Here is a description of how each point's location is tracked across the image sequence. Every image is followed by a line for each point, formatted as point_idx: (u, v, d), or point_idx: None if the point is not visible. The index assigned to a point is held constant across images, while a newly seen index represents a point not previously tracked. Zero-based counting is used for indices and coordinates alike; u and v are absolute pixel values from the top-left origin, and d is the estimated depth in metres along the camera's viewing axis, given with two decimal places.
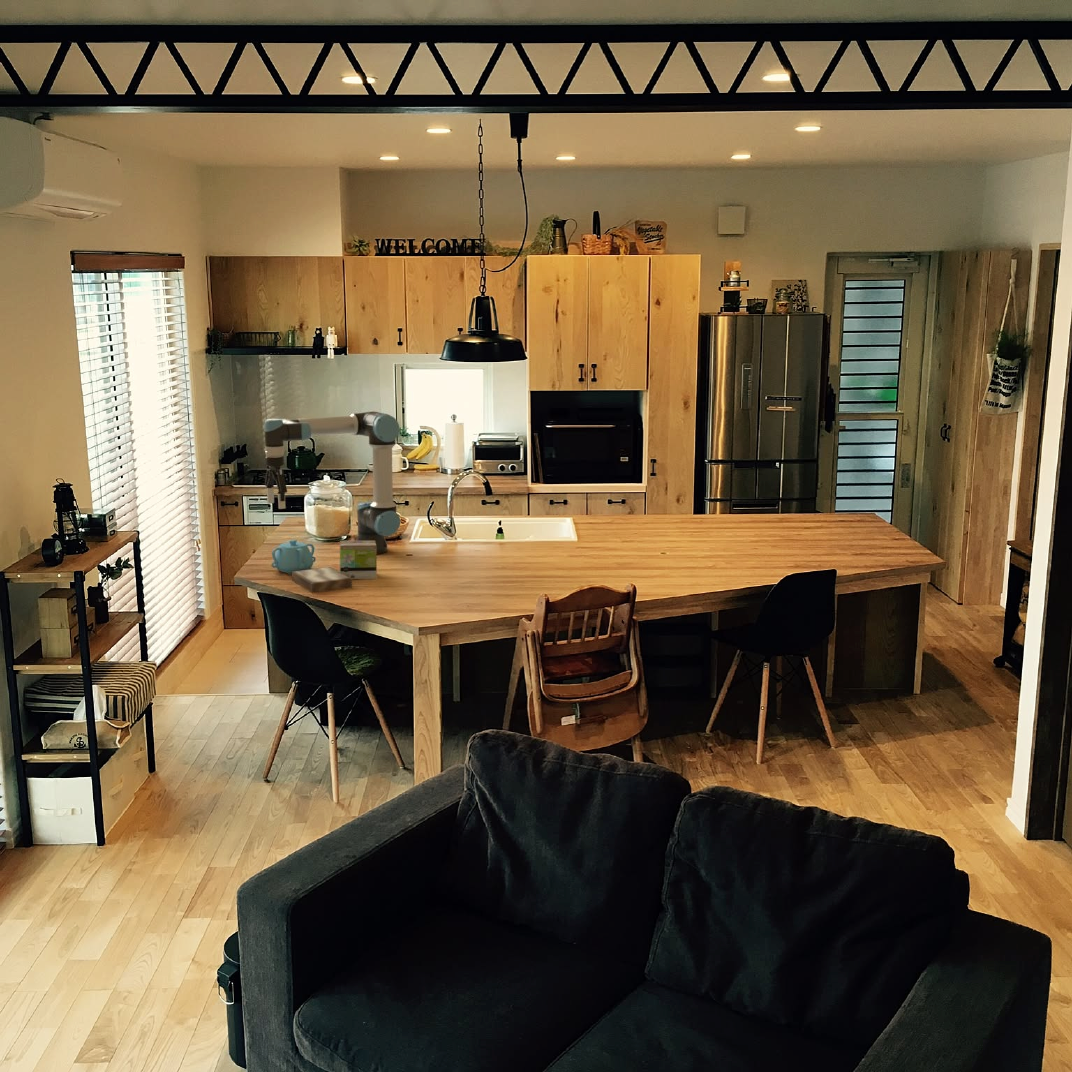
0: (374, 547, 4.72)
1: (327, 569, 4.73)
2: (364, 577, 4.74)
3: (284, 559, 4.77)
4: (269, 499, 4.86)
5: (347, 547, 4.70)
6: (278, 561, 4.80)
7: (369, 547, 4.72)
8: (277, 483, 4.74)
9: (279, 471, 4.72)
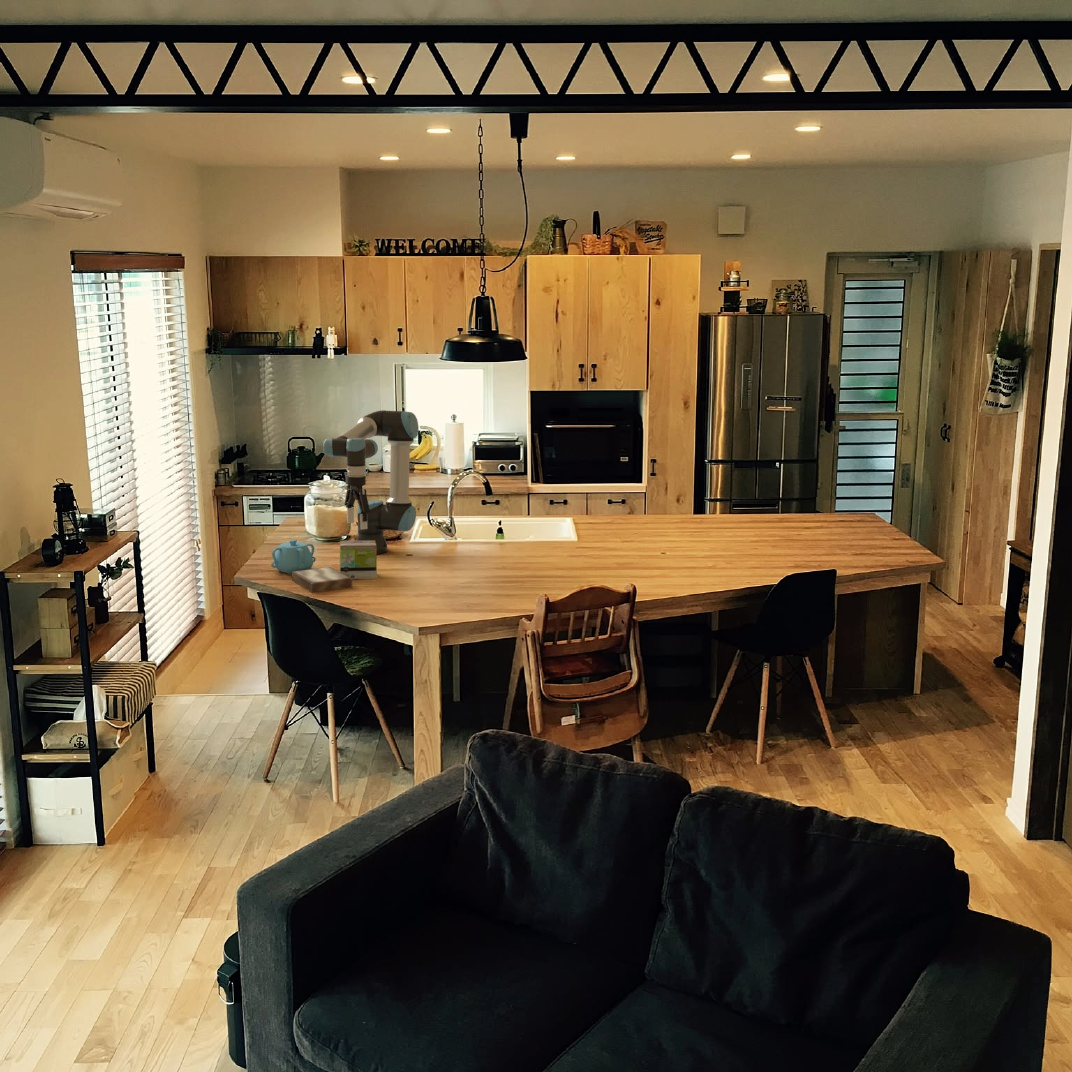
0: (374, 547, 4.72)
1: (327, 569, 4.73)
2: (364, 577, 4.74)
3: (284, 559, 4.77)
4: (349, 519, 4.78)
5: (347, 547, 4.70)
6: (278, 561, 4.80)
7: (369, 547, 4.72)
8: (359, 503, 4.66)
9: (362, 491, 4.65)
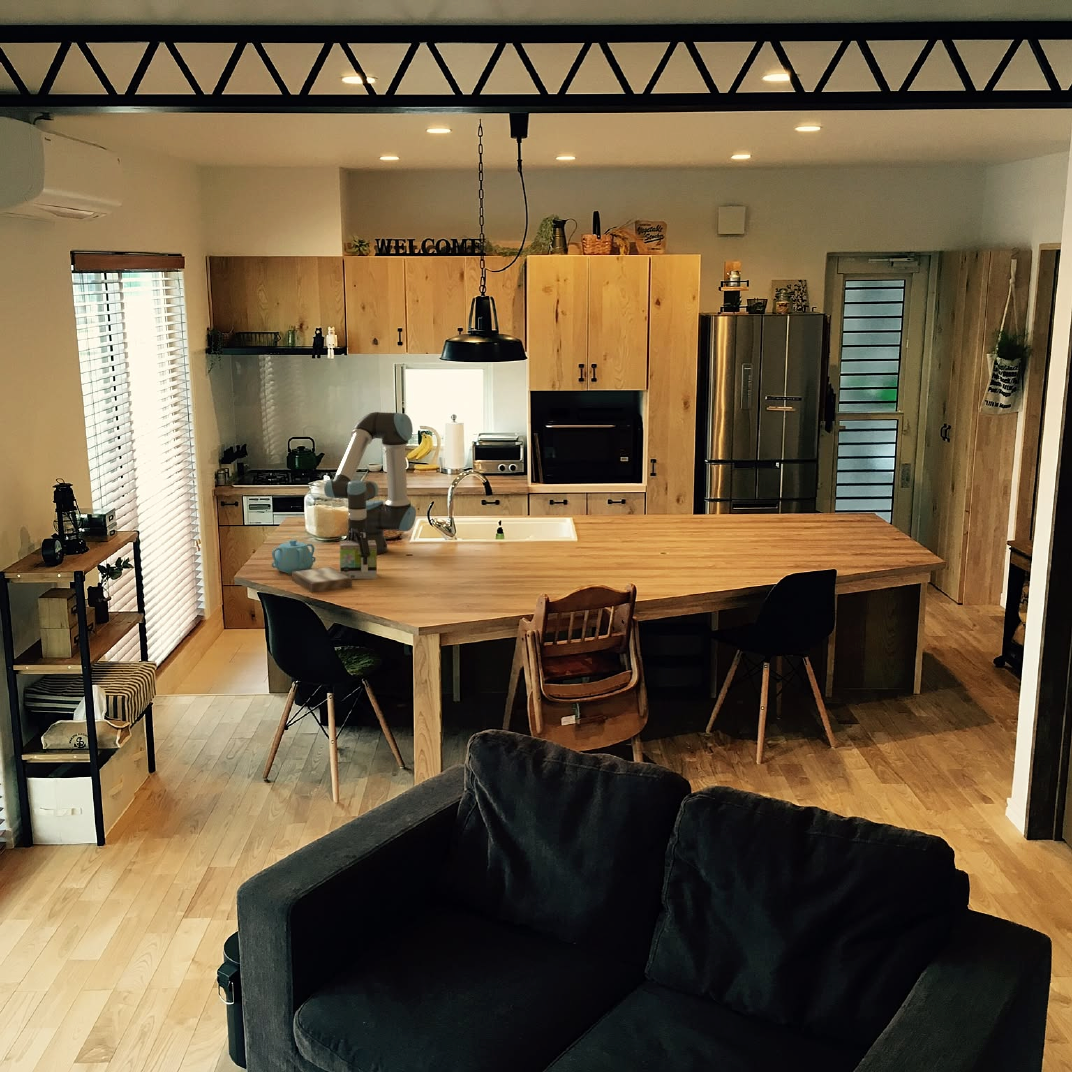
0: (374, 547, 4.72)
1: (327, 569, 4.73)
2: (364, 577, 4.74)
3: (284, 559, 4.77)
4: None
5: (347, 547, 4.70)
6: (278, 561, 4.80)
7: (369, 547, 4.72)
8: (360, 546, 4.71)
9: (363, 534, 4.69)
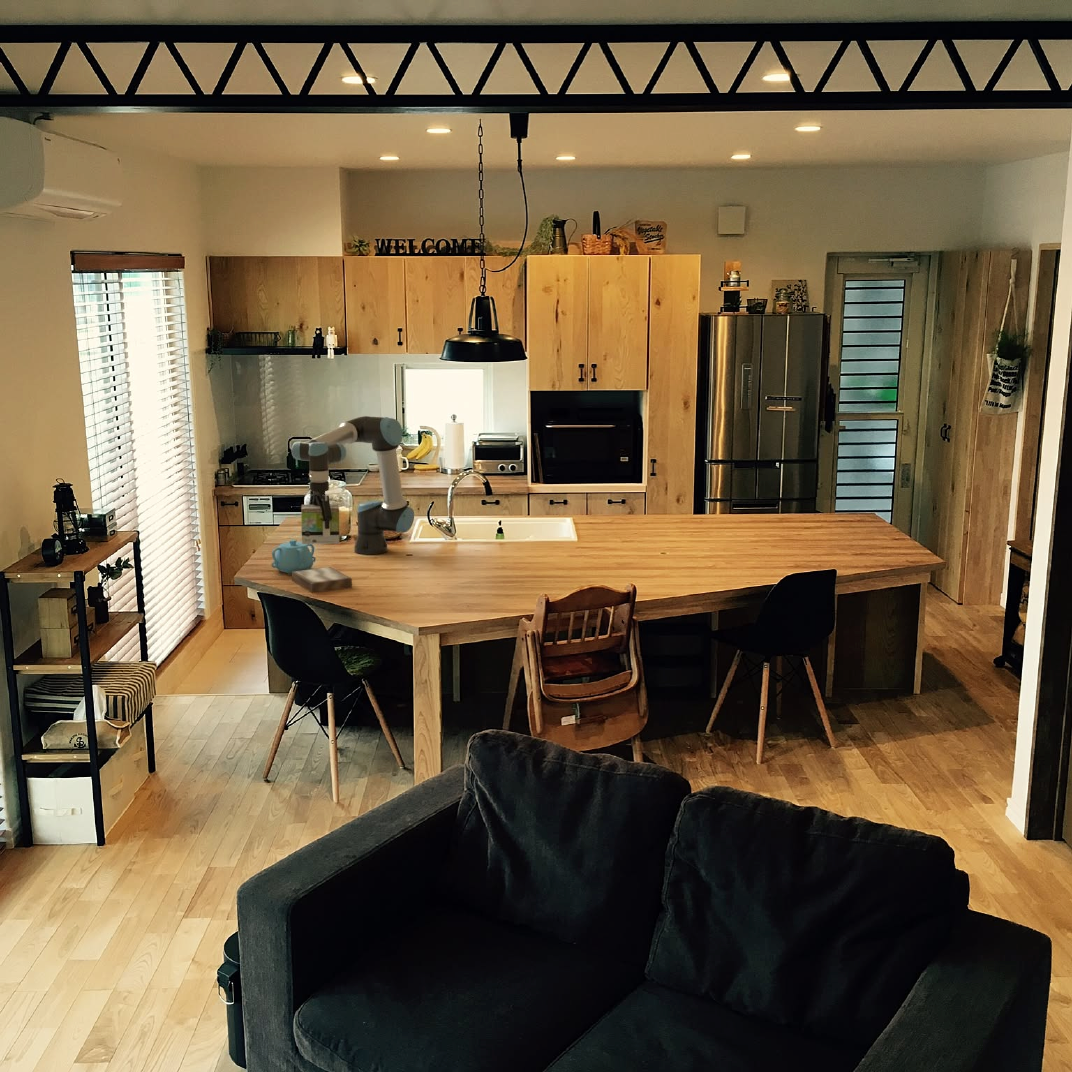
0: (336, 510, 4.56)
1: (327, 569, 4.73)
2: (326, 542, 4.58)
3: (284, 559, 4.77)
4: None
5: (308, 510, 4.53)
6: (278, 561, 4.80)
7: (331, 510, 4.55)
8: (322, 510, 4.54)
9: (324, 497, 4.52)
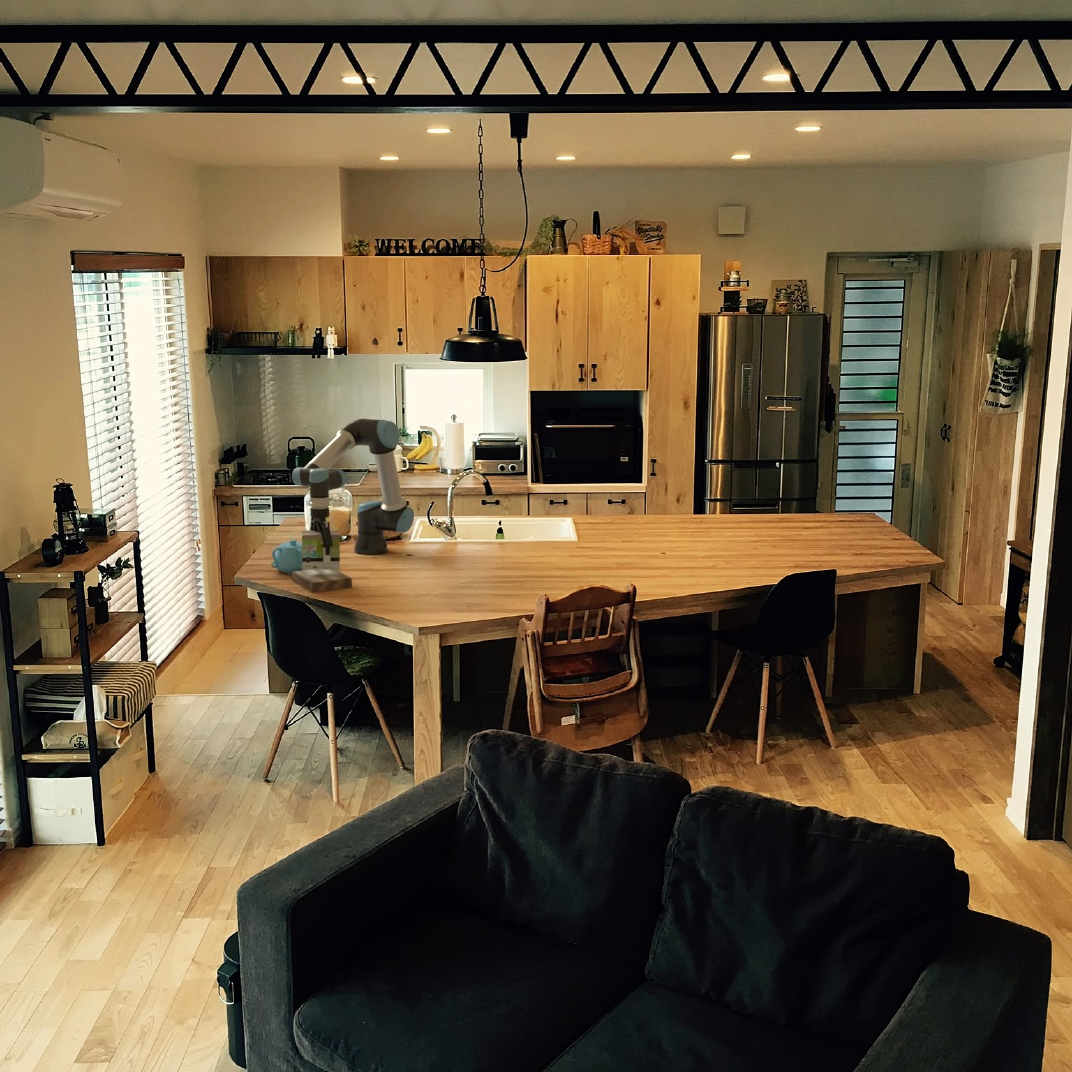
0: (337, 537, 4.58)
1: None
2: (327, 568, 4.60)
3: (284, 559, 4.77)
4: None
5: (309, 537, 4.56)
6: (278, 561, 4.80)
7: (332, 537, 4.58)
8: (322, 536, 4.56)
9: (325, 524, 4.54)
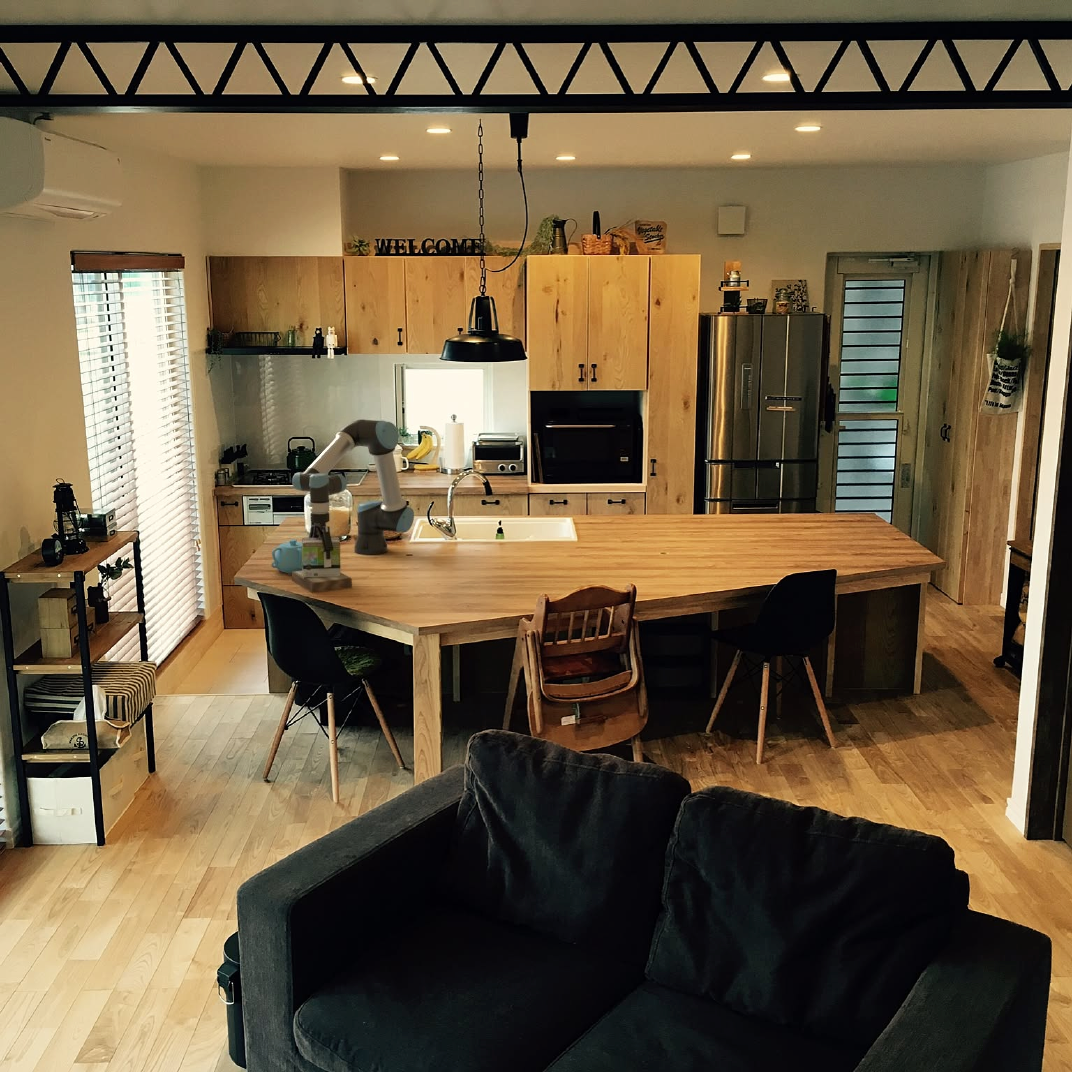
0: (338, 544, 4.59)
1: None
2: (327, 575, 4.61)
3: (284, 559, 4.77)
4: None
5: (310, 544, 4.56)
6: (278, 561, 4.80)
7: (332, 544, 4.58)
8: (323, 541, 4.56)
9: (325, 528, 4.55)
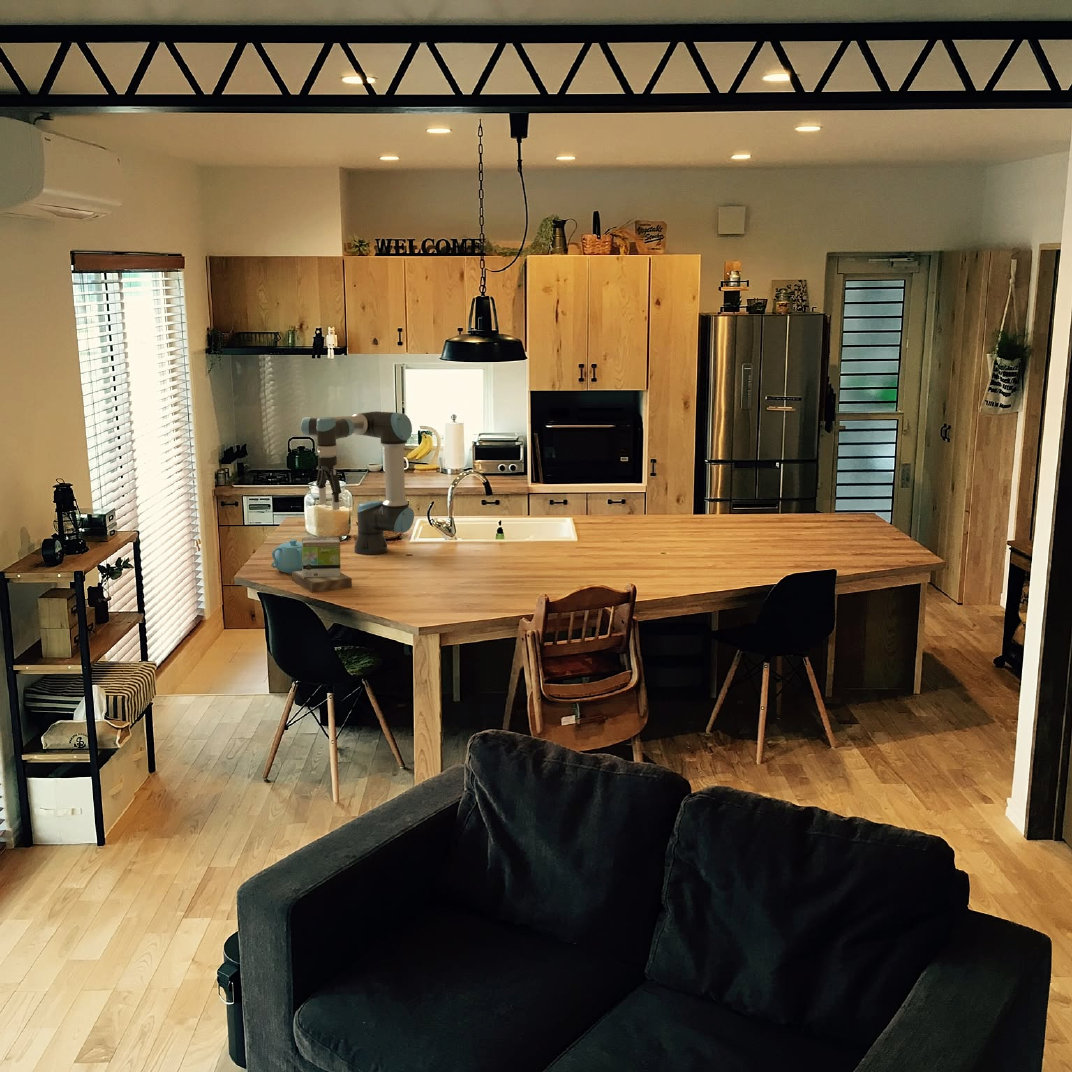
0: (338, 544, 4.59)
1: None
2: (327, 575, 4.61)
3: (284, 559, 4.77)
4: (321, 500, 4.73)
5: (310, 544, 4.56)
6: (278, 561, 4.80)
7: (332, 544, 4.58)
8: (331, 484, 4.61)
9: (333, 471, 4.59)
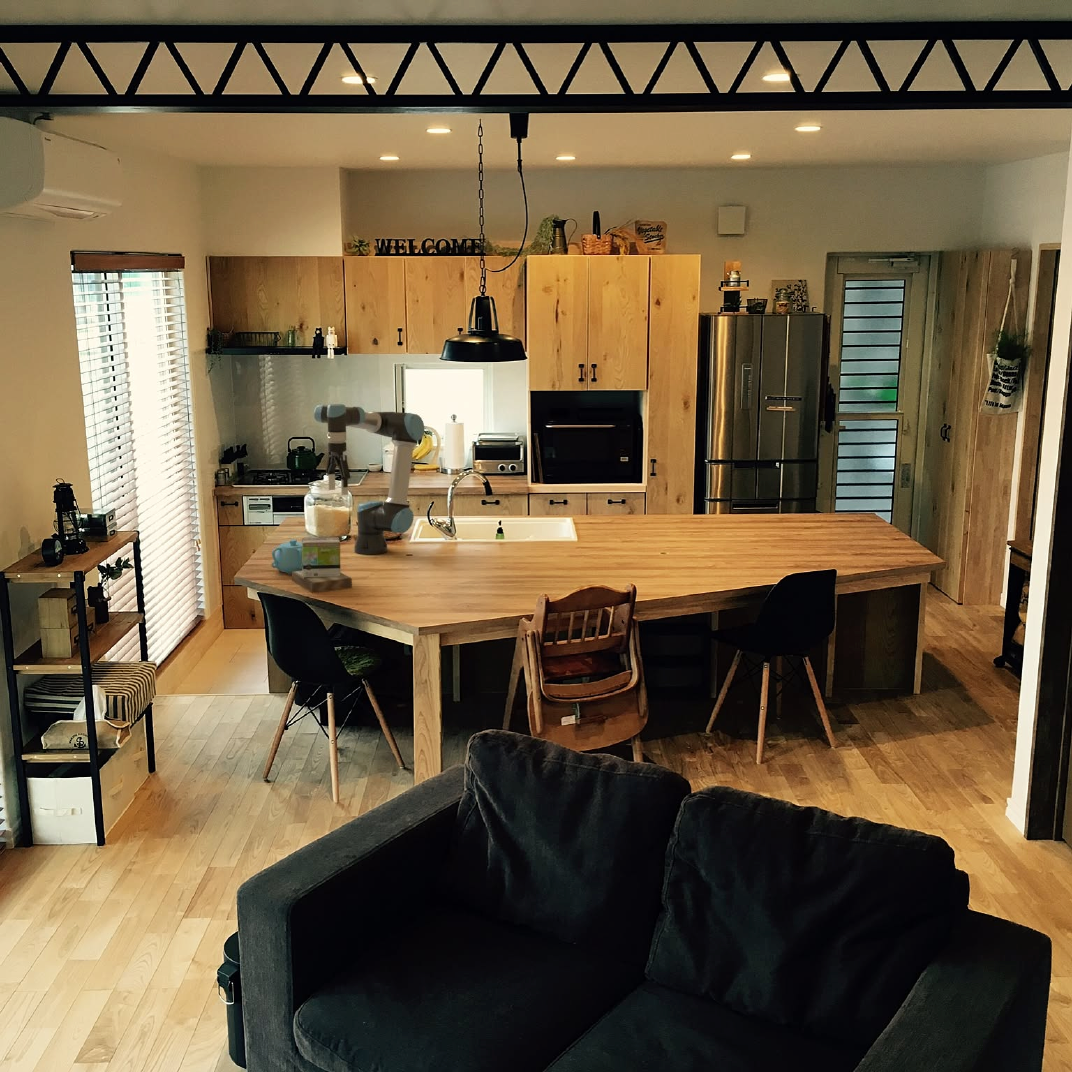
0: (338, 544, 4.59)
1: None
2: (327, 575, 4.61)
3: (284, 559, 4.77)
4: (330, 485, 4.82)
5: (310, 544, 4.56)
6: (278, 561, 4.80)
7: (332, 544, 4.58)
8: (340, 469, 4.70)
9: (342, 457, 4.68)
